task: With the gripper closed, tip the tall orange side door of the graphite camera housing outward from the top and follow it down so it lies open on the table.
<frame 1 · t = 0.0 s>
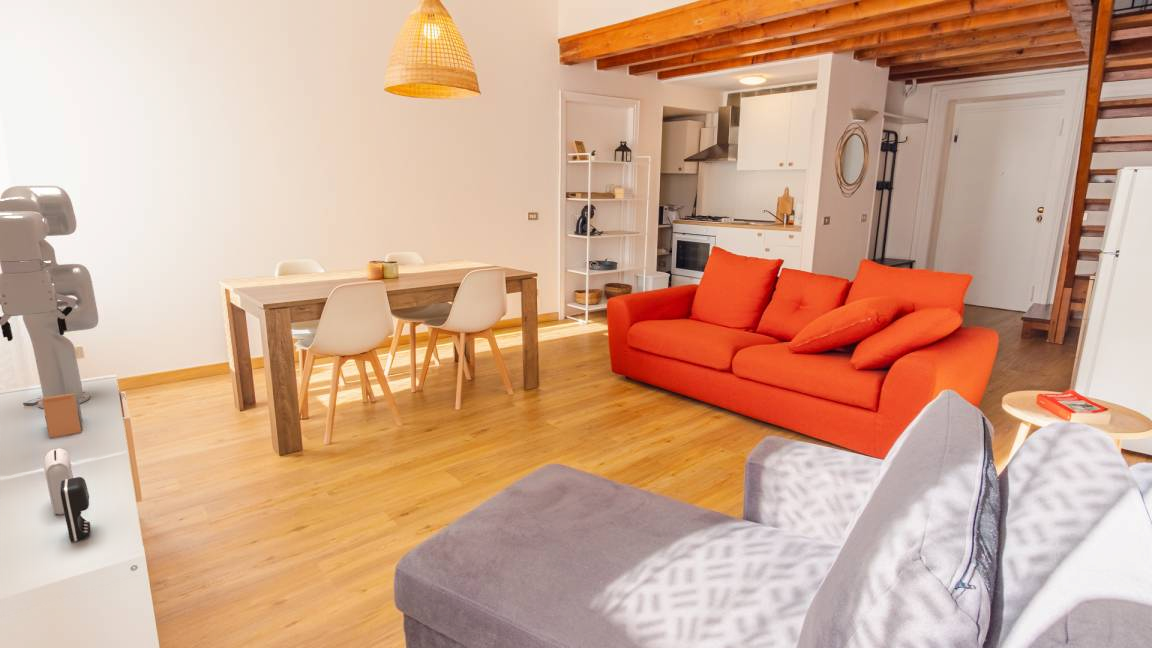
hand: (36, 336, 151), 31 cm above the sideboard, tool pointing down, fingers open, 9 cm apart
camera housing: (67, 431, 172), on the sideboard
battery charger: (83, 533, 125), on the sideboard
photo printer: (65, 505, 136), on the sideboard
side door: (62, 416, 166), point 6 cm above the sideboard, hinge at 0.0°
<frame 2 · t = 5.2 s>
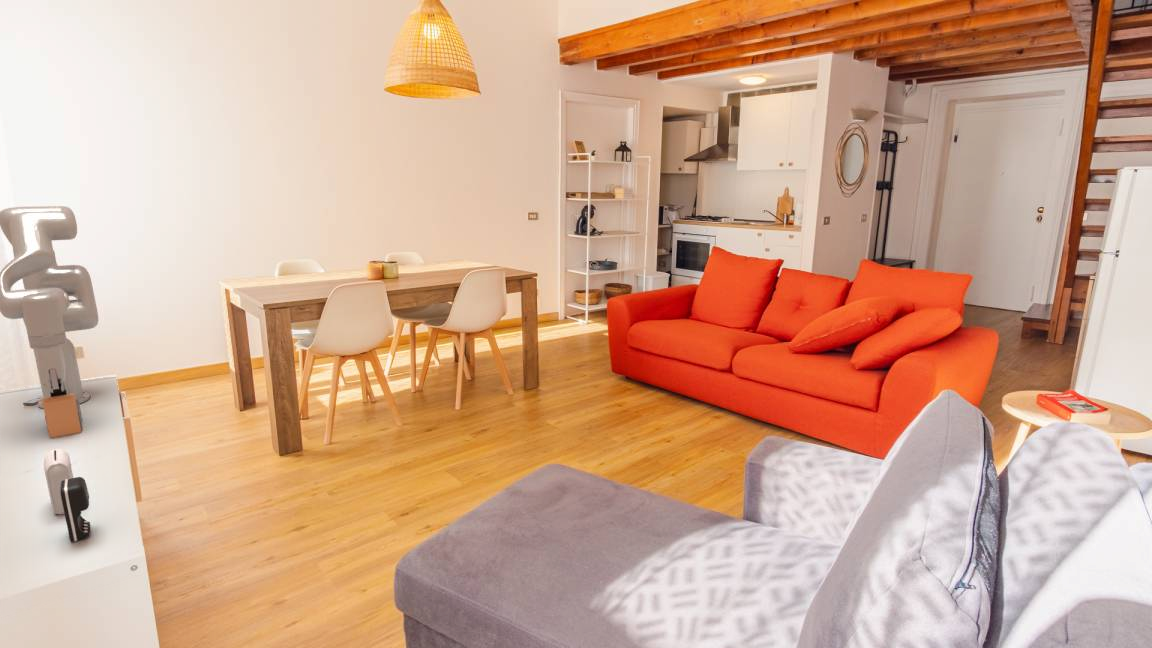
hand: (60, 405, 167), 9 cm above the sideboard, tool pointing down, fingers closed
side door: (62, 416, 166), point 6 cm above the sideboard, hinge at 1.4°, touching gripper
everything else where it was.
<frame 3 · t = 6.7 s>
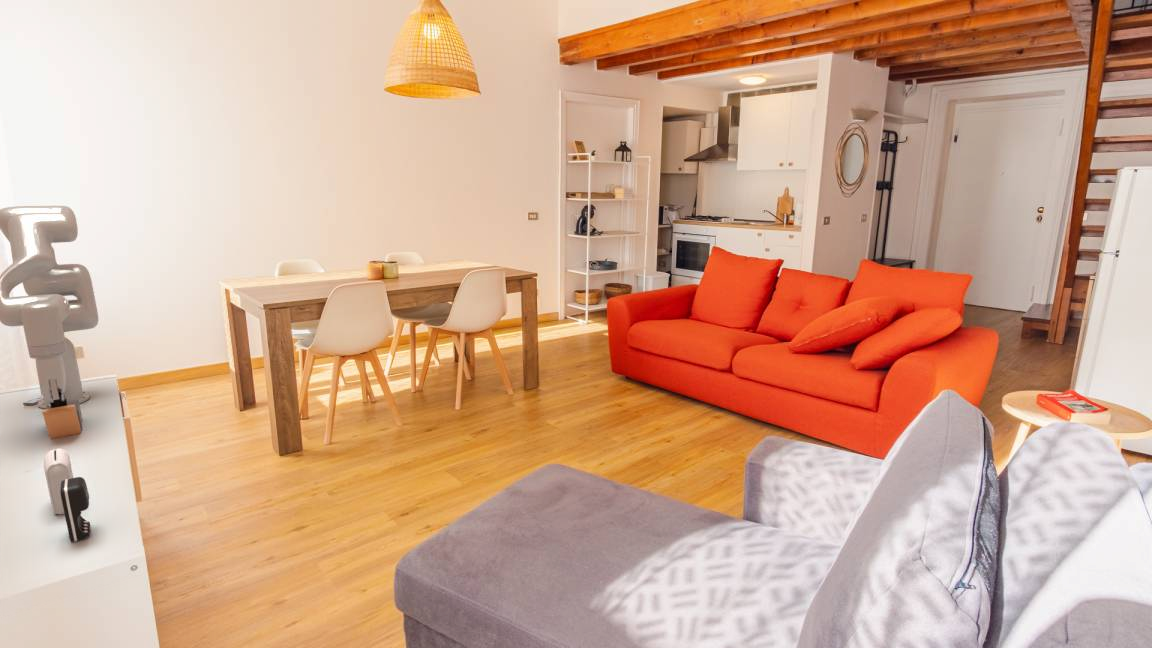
hand: (61, 414, 164), 8 cm above the sideboard, tool pointing down, fingers closed
side door: (62, 422, 164), point 6 cm above the sideboard, hinge at 30.8°, touching gripper
everything else where it was.
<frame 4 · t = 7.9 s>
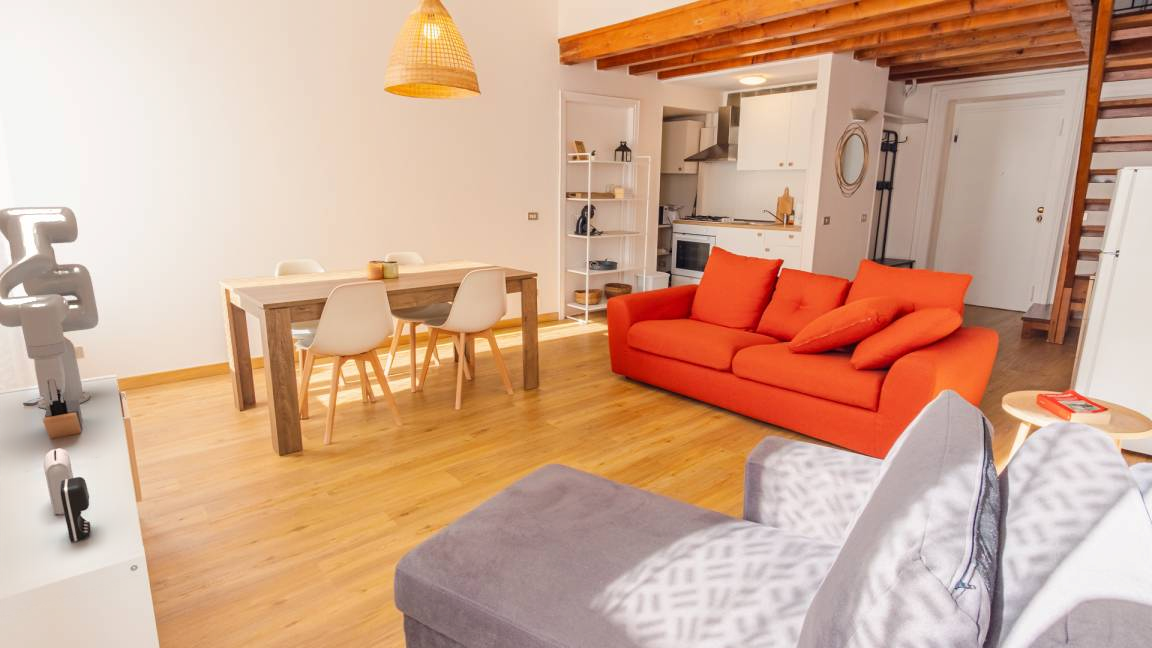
hand: (60, 416, 161), 8 cm above the sideboard, tool pointing down, fingers closed
side door: (63, 427, 164), point 5 cm above the sideboard, hinge at 44.3°, touching gripper
everything else where it was.
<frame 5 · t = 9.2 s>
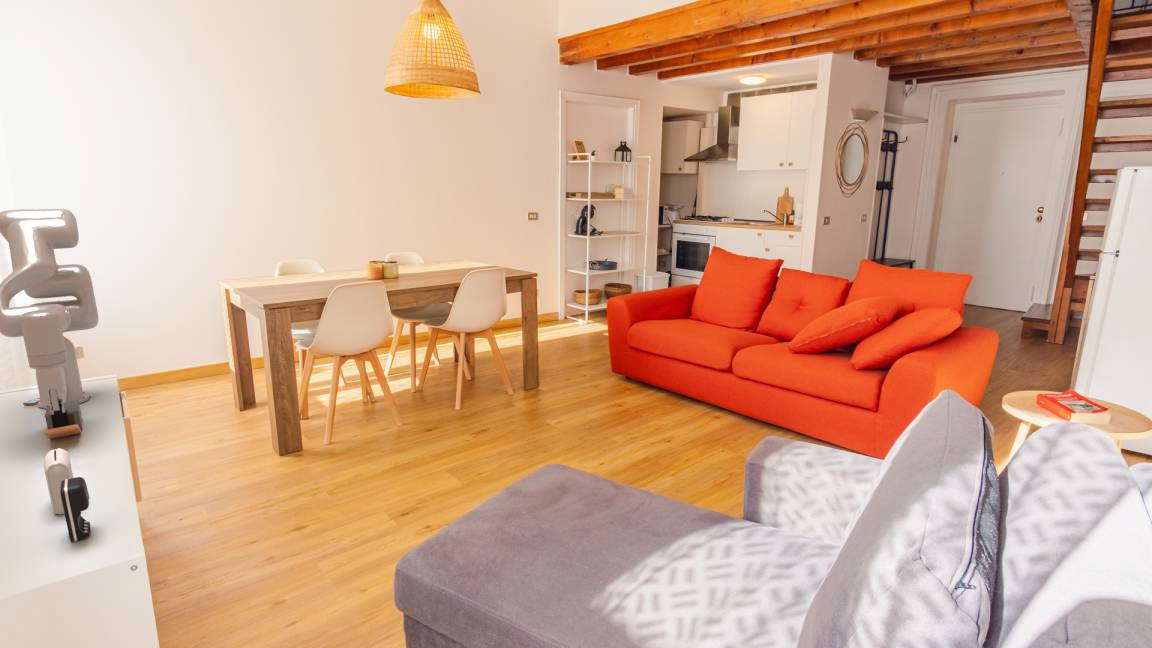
hand: (61, 426, 160), 6 cm above the sideboard, tool pointing down, fingers closed
side door: (63, 432, 163), point 3 cm above the sideboard, hinge at 61.4°, touching gripper
everything else where it was.
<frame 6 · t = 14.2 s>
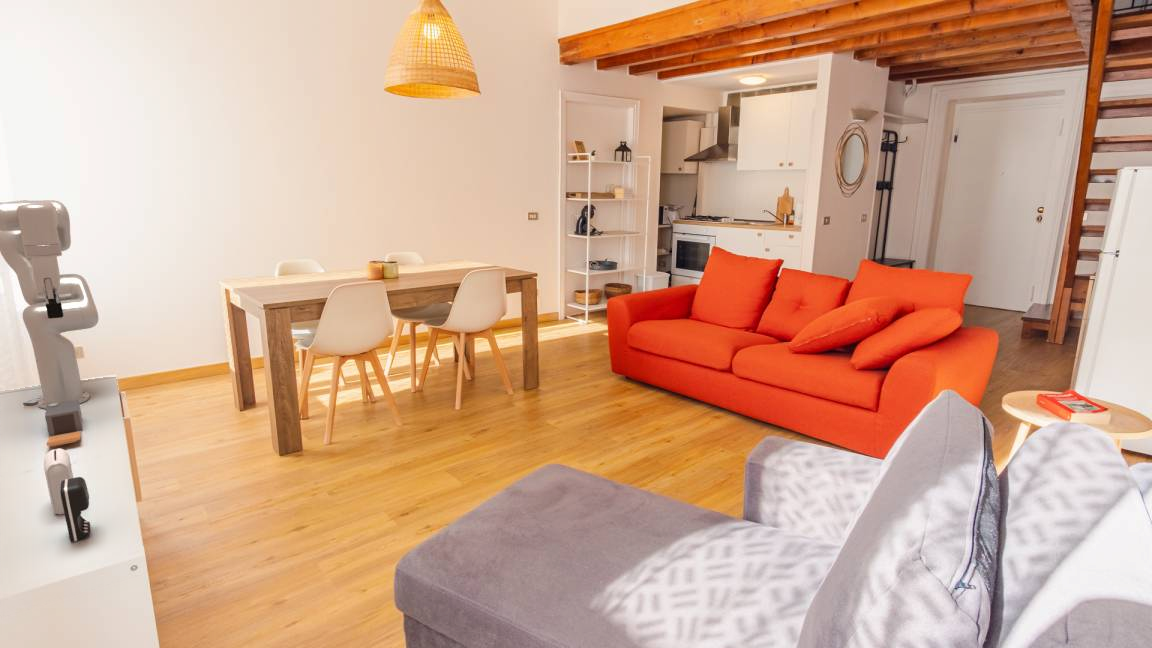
hand: (56, 317, 170), 31 cm above the sideboard, tool pointing down, fingers closed
side door: (64, 438, 163), point 2 cm above the sideboard, hinge at 78.2°
everything else where it was.
at the end: side door at +78° (first picture: +0°) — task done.
